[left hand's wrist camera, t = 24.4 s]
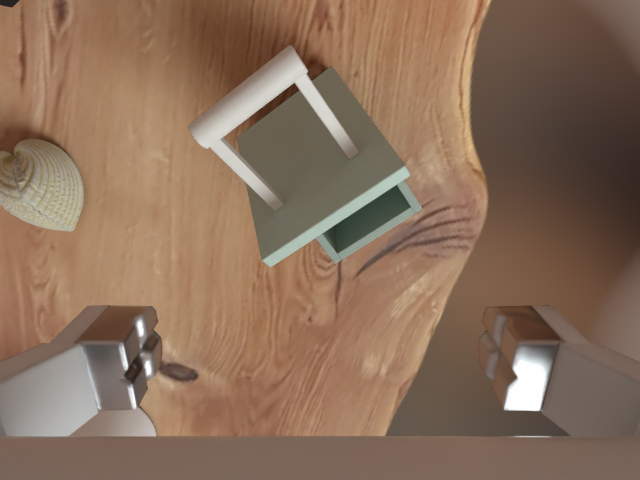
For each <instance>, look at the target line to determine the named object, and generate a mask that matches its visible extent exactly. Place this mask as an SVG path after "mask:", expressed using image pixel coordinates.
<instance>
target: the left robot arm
mask: <svg viewBox="0 0 640 480" xmlns="http://www.w3.org/2000/svg"><path fill="white" fill-rule="evenodd" d="M157 323H158V319H157V314H156V310H155V309H154V308H153V307H152V306H114V305H113V306H111V305H93V306H87V307H86V308H85V309H84V310H83V311H82V312H81V313H80V314H79V315H78V316H77V317H76V318H75V319H74V320H73V321H72V322H71V323H70V324H69V325H68V326H67V327H66V328H65V329H64V330H63V331H62V332H61V333H60V334H59V335H58V336H57V337H56V338H55V339H54V340H53V341H52V342H51V343H42V344H40V345H38V346H35V347H33V348H31V349H29V350H26V351H24V352H22V353H19V354H17V355H15V356H13V357H10V358H8V359H6V360H3V361H1V362H0V480H640V362H639V361H636V360H634V359H632V358H630V357H627V356H625V355H623V354H620V353H618V352H616V351H614V350H611V349H609V348H607V347H604V346H602V345H600V344H598V343H589V342H588V341H587V340H586V339H585V338H584V337H583V336H582V335H581V334H580V333H579V332H578V331H577V330H576V329H575V328H574V327H573V326H572V325H571V324H570V323H569V322H568V321H567V320H566V319H565V318H564V317H563V316H562V315H561V314H560V313H559V312H558V311H557V310H556V309H555V308H554V307H552V306H549V305H535V306H497V307H486V309H485V311H484V313H483V318H482V323H483V324H484V326H485V328H486V329H487V330H486V331H485V332H484V333H483V334H482V335H481V336H480V337H479V342H478V359H479V363H480V366H481V369H482V371H483V373H484V375H485V376H486V377H488V378H489V379H491V380H492V381H493V387H492V389H493V391H494V393H495V395H496V397H497V398H498V400H499V402H500V404H501V406H502V407H503V409H504V410H524V411H542V413H543V414H544V415H545V416H547V417H548V418H549V419H551V420H552V421H553V422H554V423H556V424H557V425H558V426H559V427H561V428H562V429H563V430H565V431H566V432H567V433H569V434H570V435H571V436H156V431H155V428H154V426H153V424H152V422H151V420H150V419H149V417H148V416H147V415H146V414H145V413H144V412H143V411H142V410H141V409H140V408H139V407H138V406H139V404H140V402H141V400H142V399H143V397H144V395H145V393H146V391H147V389H148V387H147V381H148V380H149V379H151V378H152V377H154V376H155V375H156V373H157V371H158V369H159V367H160V363H161V358H162V341H161V337H160V336H159V335H158V334H157V333H156V332H155V331H154V330H153V329H154V328H155V326H156V325H157Z"/></svg>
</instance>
